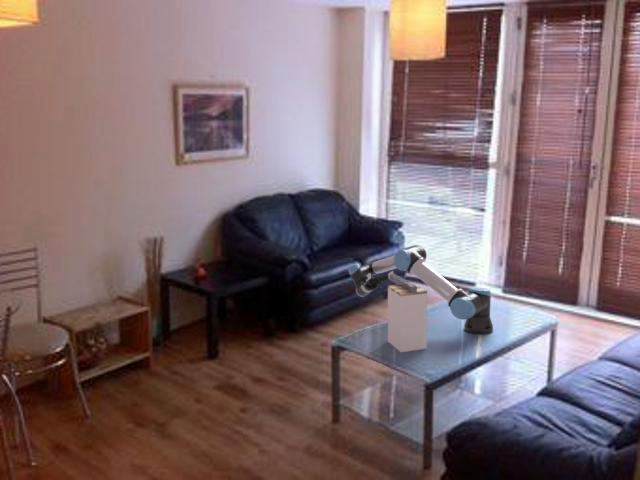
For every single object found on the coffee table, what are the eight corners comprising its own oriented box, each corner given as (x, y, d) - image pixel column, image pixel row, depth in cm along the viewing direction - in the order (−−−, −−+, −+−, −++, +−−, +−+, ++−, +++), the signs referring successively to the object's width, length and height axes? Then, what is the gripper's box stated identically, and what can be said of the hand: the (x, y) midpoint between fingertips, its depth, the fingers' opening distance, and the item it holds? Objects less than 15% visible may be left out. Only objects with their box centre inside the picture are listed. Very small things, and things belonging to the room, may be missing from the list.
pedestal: (387, 341, 331) (387, 285, 325) (412, 338, 335) (412, 283, 329) (400, 352, 316) (400, 293, 310) (426, 348, 320) (427, 290, 314)
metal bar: (389, 279, 336) (389, 274, 335) (394, 279, 337) (394, 273, 336) (411, 292, 312) (411, 286, 311) (416, 292, 313) (416, 286, 312)
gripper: (390, 288, 372) (403, 278, 353) (350, 293, 365) (361, 283, 346) (388, 276, 374) (401, 265, 355) (347, 280, 367) (359, 270, 348)
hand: (381, 274), depth 350 cm, fingers open, 13 cm apart
